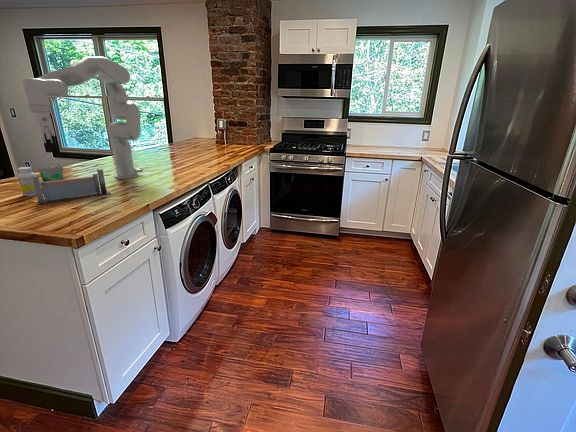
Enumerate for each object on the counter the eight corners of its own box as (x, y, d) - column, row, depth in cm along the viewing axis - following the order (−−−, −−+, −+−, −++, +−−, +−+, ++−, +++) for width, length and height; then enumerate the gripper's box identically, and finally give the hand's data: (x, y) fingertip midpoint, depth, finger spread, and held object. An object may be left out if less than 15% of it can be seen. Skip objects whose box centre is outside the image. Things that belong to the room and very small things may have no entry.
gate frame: (107, 191, 154) (102, 167, 150) (110, 194, 150) (106, 170, 146) (37, 201, 136) (30, 175, 131) (39, 205, 132) (32, 178, 127)
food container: (52, 188, 155) (47, 169, 151) (42, 187, 156) (37, 168, 153) (72, 183, 166) (68, 164, 163) (63, 182, 167) (59, 164, 164)
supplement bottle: (29, 192, 148) (22, 166, 144) (44, 192, 149) (37, 166, 144) (19, 196, 142) (11, 169, 137) (34, 196, 142) (27, 169, 138)
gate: (99, 191, 150) (96, 173, 147) (100, 192, 149) (97, 174, 145) (44, 199, 136) (39, 180, 132) (45, 200, 134) (40, 180, 131)
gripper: (54, 110, 129) (63, 153, 135) (48, 108, 139) (57, 149, 145) (31, 109, 124) (42, 155, 130) (27, 108, 134) (37, 150, 140)
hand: (50, 152), depth 138 cm, fingers closed
